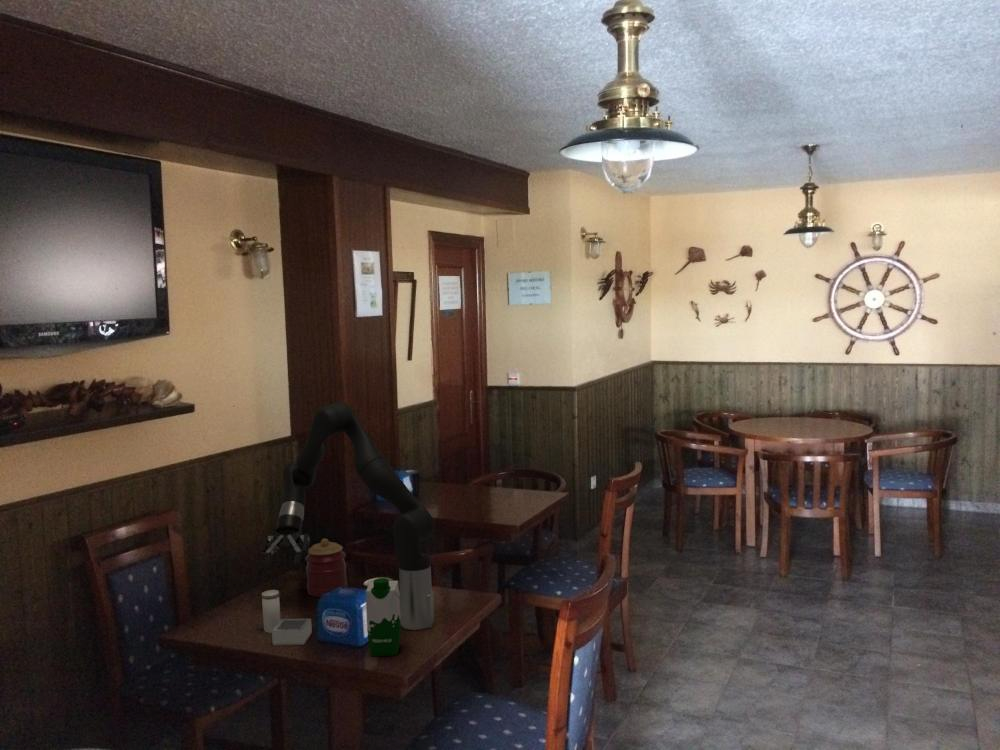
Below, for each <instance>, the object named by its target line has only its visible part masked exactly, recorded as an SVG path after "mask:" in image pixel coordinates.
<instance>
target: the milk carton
mask: <svg viewBox="0 0 1000 750" xmlns="http://www.w3.org/2000/svg"><path fill="white" fill-rule="evenodd" d="M365 604H366V605H365V607H366V627H367V628H366V630H367V641H368V646H369V653H370V654H369V655H370V657H385V656H386V657H388V656H390V657H391V656H397V655H398V652H399V649H400V645H401V635H402V625H401V607H400V587H399V580H389V579H388V578H385V577H384V578H383V577H382V578H379V577H378V578H376V579H375V578H374V580H373V581H370V582H369V584H368V585H367V588H366V591H365Z"/></svg>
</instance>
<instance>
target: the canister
mask: <svg viewBox="0 0 1000 750" xmlns="http://www.w3.org/2000/svg"><path fill="white" fill-rule="evenodd" d="M343 549H344V547H343V546H342V545H341V544H338V543H337V542H332V541H329V539H328V538H322V539H321V540H320V542H319V543H315V544H312V546H310V547H309V552H308V554H306V556H305V558H304V559H305V562H306V566H305V570H306V584H307V585H306V590H307V594H308V595H309V596H310V595H311V597H313V596H314V597H313V598H320V597H319V596H321V595H322V594H323V593H325V592H327V591H329V590H331V589H333V588H336V587H344V586H347V587H348V581H347V580H348V579H347V562H345V557H346V555H347V554H346V552H344V551H343ZM315 596H316V597H315Z"/></svg>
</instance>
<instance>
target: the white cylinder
mask: <svg viewBox="0 0 1000 750" xmlns="http://www.w3.org/2000/svg"><path fill="white" fill-rule="evenodd" d="M261 604H262V619H263V632H264V631H265V632H264V633H266V632H267V634H272V630H273V629H274V628H275V627H276V625H277V624H278V623H279V622H280V620H281V619H282V618H281V608H280V607H281V604H280V590H276V589H268V590H265V591H263V592H261Z"/></svg>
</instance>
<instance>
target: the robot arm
mask: <svg viewBox="0 0 1000 750" xmlns="http://www.w3.org/2000/svg"><path fill="white" fill-rule="evenodd" d="M341 433H342V434H343V433H344V434H345V435H346V436H348V439H349V440H350V442H351V444H352V446H353V452H354V453H353V457H354V468H355V471H356V473H357V475H358V476H359V478H360V479H361V481H362V482H363V484H364V486H366V487H367V488H368V489H369V490H370V491H371V492H372V493H373V494H375V495H377V496H378V497H380V498H381V499H383V500H385V501H387V502H388V503H390V504H391V505H392V506H394V507H395V509H397V511H399V515H398V516H396V518H395V519H394V522H393V524H392V525H393V526H392V535H393V543H394V544H393V545H394V546H393V547H394V554H395V558H396V560H397V562H398V577H399V578H398V579H399V580H398V586H399V593H400V612H401V628H403V629H405V630H410V631H411V630H413V631H417V630H418V631H419V630H425V629H428V628H433V624H434V622H435V608H434V607H435V605H434V603H435V601H434V589H433V588H432V566H431V556H430V555H429V554H427V553H425V552H421V545H420V544H421V542H423V541H426V540H428V539H430V538H431V537H432V536H433V535H434V534H435V531H436V523H435V520H434V518H433V516H432V515H431V513H430V512H429V511H428V510H427V508H426V507H425V506H424V505H423V504H422V503H421V502H420V500H418V499H417V498H416V497H415V495H414V494H413V493H412V491H410V490H409V488H408V487H407V486H406V484H405V483H404V481H403V480H402V479H401V478H400V476H399V475H398V474H397V473H396V471H395V470H394V468H393V467H392V466H391V464H390V462H389V461H388V460H387V458H385V456H384V455H383V454H382V453H381V451H380V450H379V448H378V447H377V446H376V444H375V443H374V442H373V440H372V439H371V437H370V436H369V434H368V433H367V431H366V429H365V428H364V426H363V424H362V423H361V421H360V419H359V417H358V416H357V414H356V412H355V411H354V410H353V408H352V406H351V405H349V404H348V403H346V402H345V401H339V402H336V403H335V402H334V403H332V404H329V405H325V406H322V407H320V408H319V409H318V410H317V411H316V413H315V414H314V417H313V420H312V422H311V426H310V429H309V432H308V435H307V437H306V438H307V439H306V442H305V443H304V446H303V447H302V449H301V451H300V452H299V454H298V456H297V457H296V460H295V462H292V461H291V462H289V463H286V465H285V466H284V468H283V471H282V483H283V500H282V504H281V507H280V510H279V514H278V519H277V524H276V529H275V534H274V535H269V534H268V533H265V535H264V537H263V540H262V544H261V547H260V552H261V554H262V555H263V556H265V557H264V566H266V568H270V567H271V565H272V559H273V555H274V554H275V553H277V552H279V551H280V550H281V551H282V550H292V549H294V551H295V555H294V561H293V565H294V567H295V568H298V567H299V566H300V565H301V561H302V560H301V559H302V557H303V556H304V555H308V554H309V553H308V552H309V548H310V542H311V541H310V540H311V539H310V535H309V533H307V532H306V533H304V534H301V532H302V527H303V521H304V519H305V517H304V516H305V508H306V507H305V505H306V501H307V493H306V491H305V490H304V489H309V488H310V487H312V486H313V485H314V483H315V480H316V474H317V468H318V466H320V464H321V462H322V460H323V458H324V456H325V452H326V447H325V444H324V443H325V441H326V440H328V438H330V437H332V436H336V435H339V434H341ZM302 488H303V489H302ZM300 541H302V544H303V545H302V548H300V547H299V545H298V543H299V542H300Z"/></svg>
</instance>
